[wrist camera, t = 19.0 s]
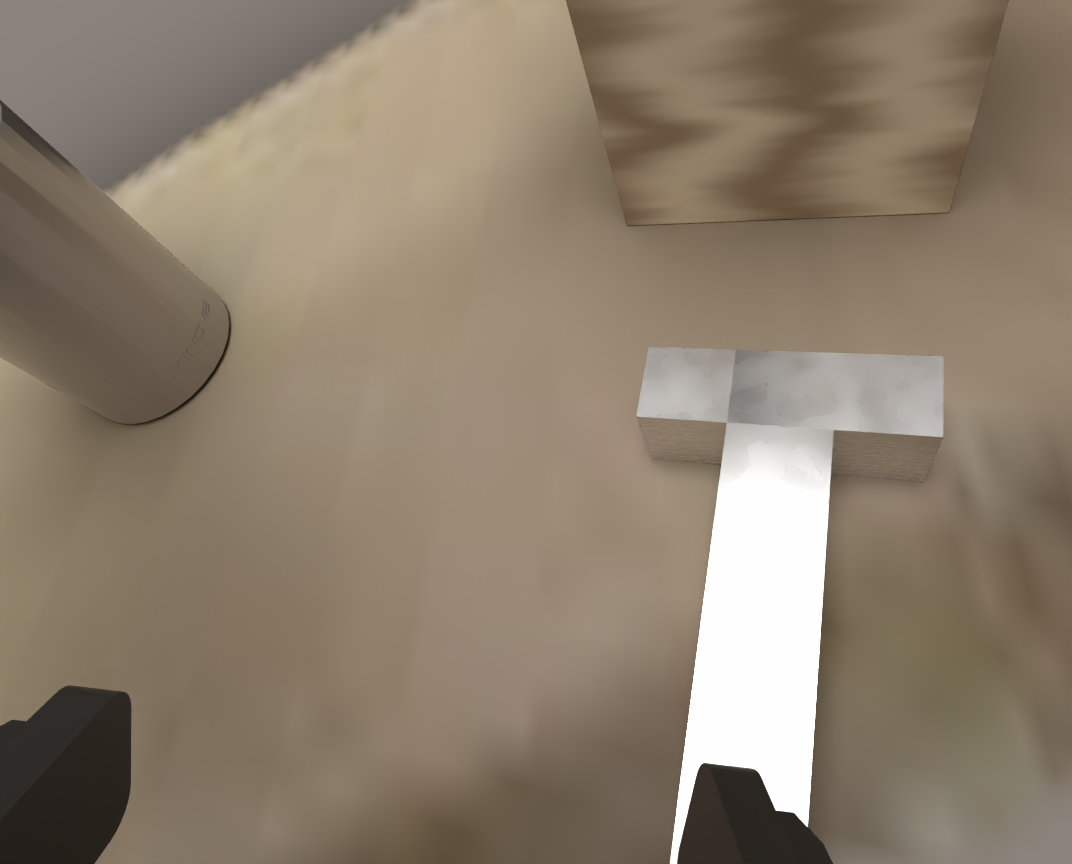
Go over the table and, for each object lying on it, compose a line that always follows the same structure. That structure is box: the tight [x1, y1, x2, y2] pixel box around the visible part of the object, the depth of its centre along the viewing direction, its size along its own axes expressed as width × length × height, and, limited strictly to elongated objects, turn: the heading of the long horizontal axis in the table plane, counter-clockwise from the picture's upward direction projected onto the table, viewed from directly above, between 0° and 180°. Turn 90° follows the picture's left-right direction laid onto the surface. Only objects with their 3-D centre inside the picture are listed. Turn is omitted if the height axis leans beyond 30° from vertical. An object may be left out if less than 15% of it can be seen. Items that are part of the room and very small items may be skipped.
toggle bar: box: [636, 347, 943, 864], centre depth 24 cm, size 20×10×4 cm, turn 167°
